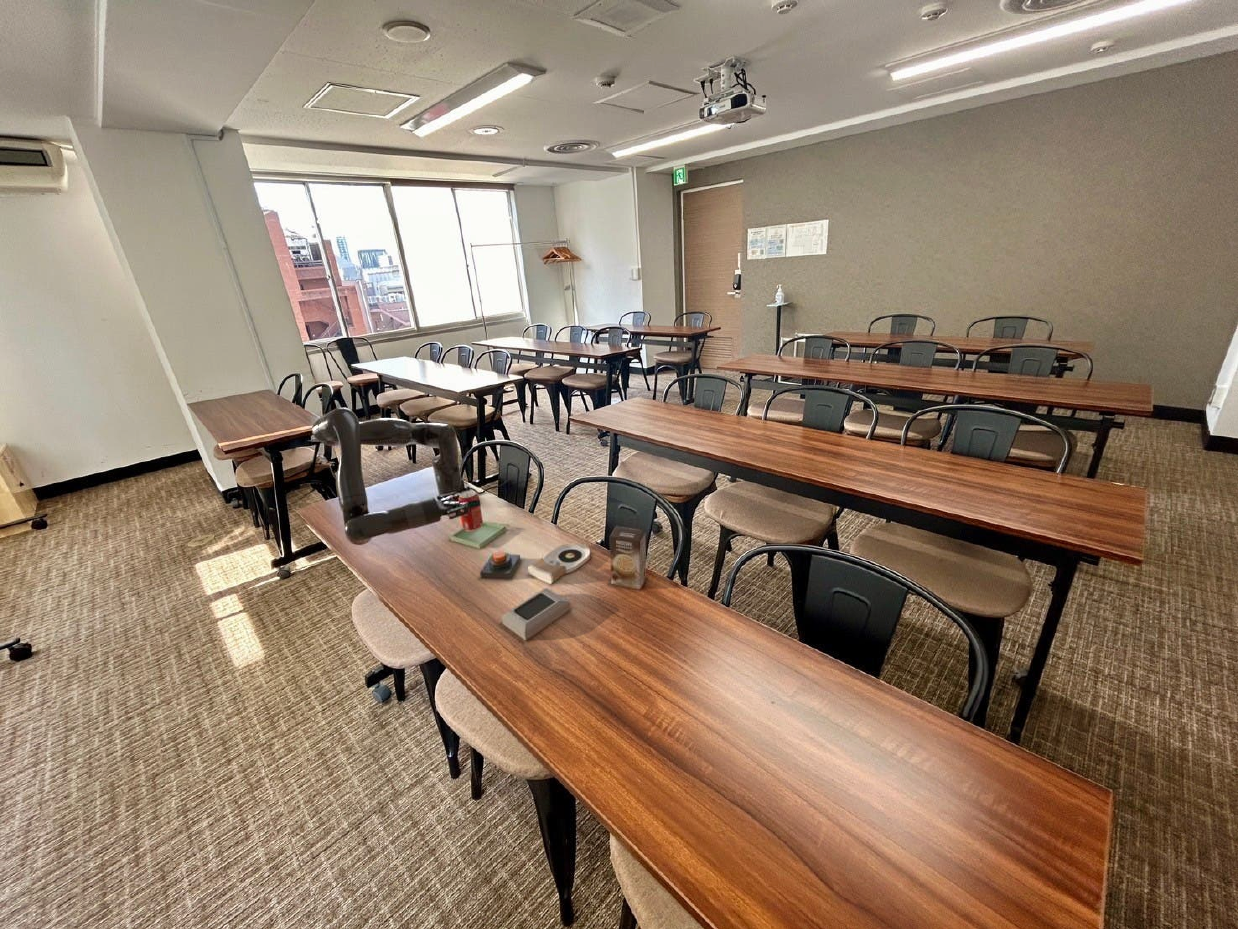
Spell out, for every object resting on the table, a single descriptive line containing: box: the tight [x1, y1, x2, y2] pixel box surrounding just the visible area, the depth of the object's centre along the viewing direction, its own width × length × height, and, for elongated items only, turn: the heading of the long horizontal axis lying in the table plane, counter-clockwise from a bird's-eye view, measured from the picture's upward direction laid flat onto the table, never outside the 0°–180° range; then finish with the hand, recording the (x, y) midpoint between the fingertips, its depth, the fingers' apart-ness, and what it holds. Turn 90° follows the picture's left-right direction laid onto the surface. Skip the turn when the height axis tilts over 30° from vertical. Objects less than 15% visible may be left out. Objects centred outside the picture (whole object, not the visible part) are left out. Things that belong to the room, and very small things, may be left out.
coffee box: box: [609, 525, 647, 590], centre depth 136 cm, size 9×6×16 cm
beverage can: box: [458, 490, 484, 531], centre depth 150 cm, size 6×6×12 cm
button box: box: [479, 552, 521, 581], centre depth 146 cm, size 10×9×4 cm
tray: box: [449, 520, 507, 549], centre depth 166 cm, size 13×13×2 cm
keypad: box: [501, 587, 571, 641], centre depth 125 cm, size 10×4×15 cm
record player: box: [527, 542, 591, 585], centre depth 148 cm, size 12×3×20 cm
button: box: [493, 551, 506, 562], centre depth 145 cm, size 4×4×2 cm
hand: (476, 498), depth 150 cm, fingers closed on beverage can, 6 cm apart
